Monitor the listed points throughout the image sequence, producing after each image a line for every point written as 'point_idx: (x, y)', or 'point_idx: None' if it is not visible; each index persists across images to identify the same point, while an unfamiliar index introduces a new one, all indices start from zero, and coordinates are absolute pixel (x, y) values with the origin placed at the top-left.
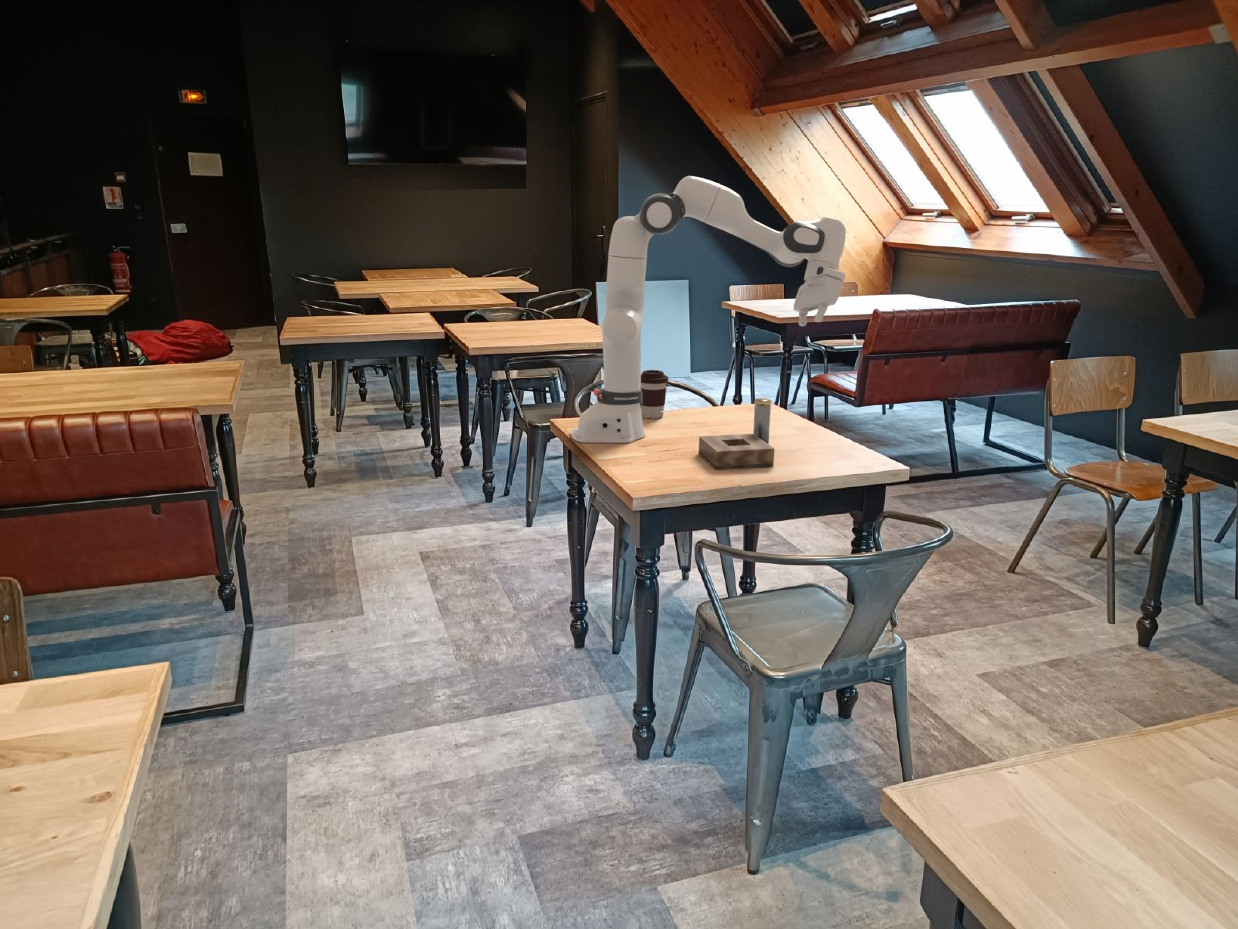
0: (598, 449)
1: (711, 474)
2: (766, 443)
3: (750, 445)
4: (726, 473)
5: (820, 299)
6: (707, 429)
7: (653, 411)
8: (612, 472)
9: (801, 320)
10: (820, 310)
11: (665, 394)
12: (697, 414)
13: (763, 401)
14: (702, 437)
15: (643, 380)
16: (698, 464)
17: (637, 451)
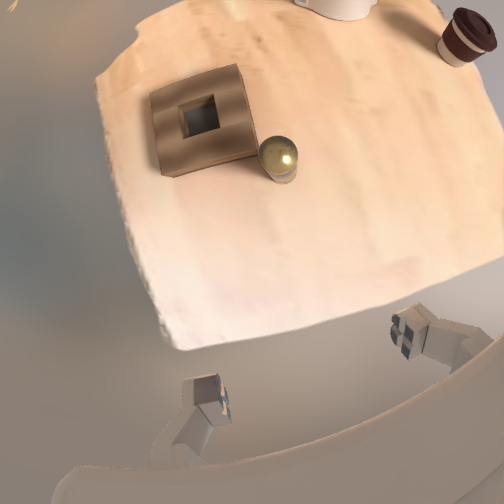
0: None
1: (144, 98)
2: (190, 164)
3: (179, 138)
4: (147, 115)
5: (118, 483)
6: (396, 106)
7: (441, 45)
8: (164, 9)
9: (405, 324)
10: (166, 434)
11: (466, 53)
12: (477, 119)
13: (261, 153)
14: (229, 67)
15: (455, 10)
16: None
17: (252, 12)
